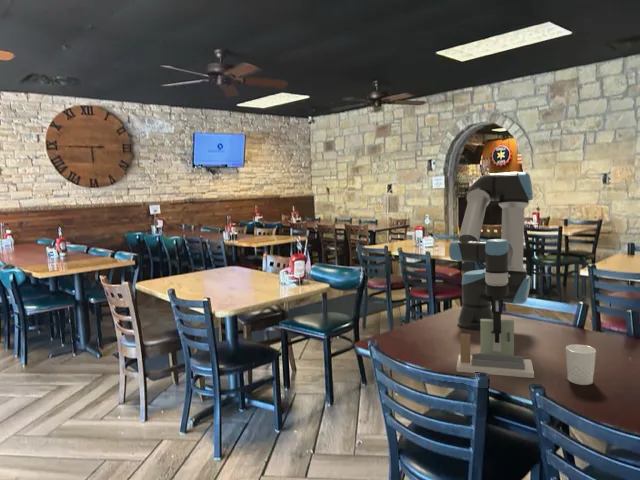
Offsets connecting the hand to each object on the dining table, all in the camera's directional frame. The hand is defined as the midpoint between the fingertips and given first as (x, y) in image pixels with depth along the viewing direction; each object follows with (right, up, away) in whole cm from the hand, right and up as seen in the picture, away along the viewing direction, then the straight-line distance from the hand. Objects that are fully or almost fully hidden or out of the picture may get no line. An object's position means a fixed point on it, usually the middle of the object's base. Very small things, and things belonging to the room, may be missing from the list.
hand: (496, 348), depth 172 cm
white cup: (+16, -4, -25) cm, 30 cm away
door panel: (0, -2, 0) cm, 2 cm away
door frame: (-5, -4, -13) cm, 14 cm away
